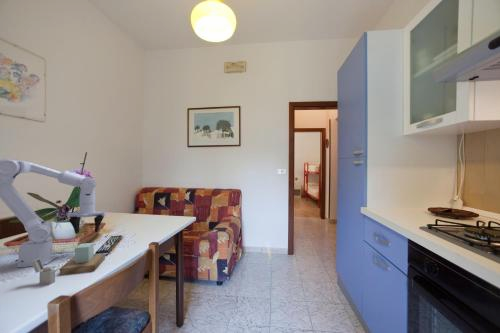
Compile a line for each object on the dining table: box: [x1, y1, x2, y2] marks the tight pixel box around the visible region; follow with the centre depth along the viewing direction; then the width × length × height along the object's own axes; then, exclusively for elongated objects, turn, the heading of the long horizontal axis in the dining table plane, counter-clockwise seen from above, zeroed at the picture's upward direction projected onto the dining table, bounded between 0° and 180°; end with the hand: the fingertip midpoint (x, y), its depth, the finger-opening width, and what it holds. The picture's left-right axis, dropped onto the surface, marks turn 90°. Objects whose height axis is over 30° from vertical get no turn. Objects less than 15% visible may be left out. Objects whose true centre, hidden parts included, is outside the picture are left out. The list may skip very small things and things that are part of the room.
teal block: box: [74, 242, 94, 263], centre depth 84 cm, size 4×4×6 cm
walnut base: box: [59, 253, 106, 276], centre depth 84 cm, size 11×11×3 cm
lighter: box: [31, 259, 56, 285], centre depth 72 cm, size 7×2×8 cm, turn 87°
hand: (87, 232), depth 97 cm, fingers open, 7 cm apart
